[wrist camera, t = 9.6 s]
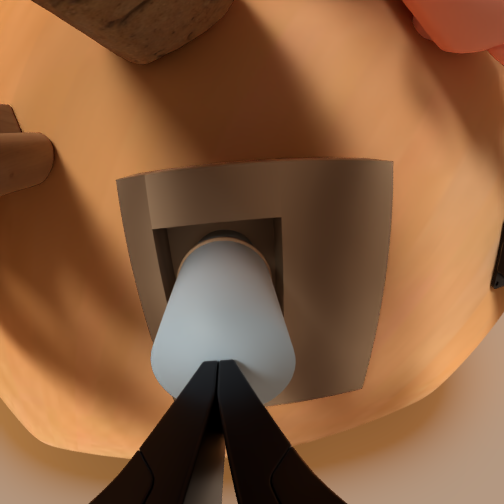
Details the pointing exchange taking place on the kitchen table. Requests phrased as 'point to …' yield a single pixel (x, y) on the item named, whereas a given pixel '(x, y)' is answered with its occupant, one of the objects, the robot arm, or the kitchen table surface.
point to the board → (278, 249)
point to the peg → (224, 318)
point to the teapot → (461, 24)
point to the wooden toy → (21, 155)
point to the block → (139, 23)
